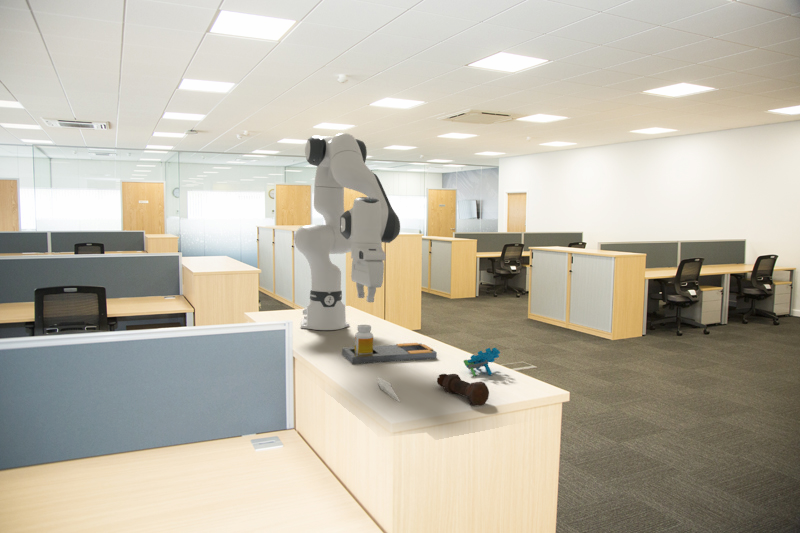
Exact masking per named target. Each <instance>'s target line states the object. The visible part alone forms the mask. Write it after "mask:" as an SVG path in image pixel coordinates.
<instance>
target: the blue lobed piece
mask: <svg viewBox="0 0 800 533" xmlns="http://www.w3.org/2000/svg"><path fill="white" fill-rule="evenodd" d="M499 354H501V352H500V349H498V348H497V347H493V348H492V349H491V348H490V347H488V348H485V352H484V351H483V350H480V351H477V354H472V355H471V356H470V359H464V360H463V364H464V366H465V367H466V368H467V369H468V370H470V371H471V374H472V376H473V377H476V376H477V374H476V372H475V370H479V369H480V368H481V367H484V368H485V370H486V373H487V374H488V376H491V375H493V373H492V370H491V368H490V367H489V363H494V362H495V359H498V358H499V357H500V355H499ZM474 369H475V370H474Z"/></svg>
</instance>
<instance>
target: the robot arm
mask: <svg viewBox="0 0 800 533" xmlns="http://www.w3.org/2000/svg"><path fill="white" fill-rule="evenodd" d="M304 155H305V158H306V161H307V162H308V164H310V165H312V166H314V167H315V166H316V170H315V171H316V172H315V175H314V176H315V177H314V189H313V191H314V192H313V207H314V209H315V211H316V212H317V213H319V214H320V215H322V216H323V219H324V221H325V224H306V225H303V226H300V227H298V228H297V230H296V232H295V233H294V240H293V241H294V244H295V247H296V248H297V250H298V251H299V252H300V253H301V254H302V255H303V256H304V257H305V258H306V260H307V262H308V264H309V267H310V275H311V276H310V277H311V289H310V292H309V302H308V303H307V306H306V307H304V308H303V309H302V315H303V316H304V318H301V320H300V321H301V322H300V328H301V329H309V330H316V331H335V330H342V329H343V328H348V327H350V323H349V322H347V319H346V316H347V315H346V305H345V304H344V302H342V298H343V294H342V293H343V292H342V291H343V290H342V286H341V285H342V283H341V282H342V271H341V270H340V268H339V266H337V265H336V264H334V263H333V262H332V261H331V257H330V255H335V254H336V255H338V254H339V255H343V254H347V253H348V254H349V253H350V254H351V256H350V257H351V258H350V259H352V262H351V272H350V273H351V275H350V277H351V281H352V282H354V283H356V284H355V285H356V292H357V298H359V299H364V298H365V293H366V292H365V287H367V295H366V302H368V303H374V302H375V294H376V291H377V289H378V288H381V287H382V285H383V282H384V270H385V263H384V262H385V261H386V256H387V255H386V252H385V251H384V250H383V247H382V246H383V245H382V244H383V243H386V244H390V243H391V242H393V241H394V240H396V239H397V237H398V236H399V235H400V233H401V222H400V219H399V216H398V215H397V213H396V212H395V210H394V209H393V207H392V205H391V203H390V200H389V198H388V196H387V194H386V192H385V189H384V187H383V184H382V183H381V181H380V179H379V177H378V175H377V174H376V173H375V172H373V171H372V170H370V168H369V167H368V166H367V164H366V160H367V157H368V151H367V146H366V143H365V142H364V141H363V140H360V139H358V138H357V139H356V138H355V137H354V136H353V135H352V134H350V133H347V132H340V133H337V134H336V135H334V136H332V135H331V136H329V135H327V136H326V135H325V136H321V135H312V136H310V137H309V138H308V139H307V142H306V143H305V147H304ZM345 188H346V189H349V190H352V191H356V192H359V193H361V194H363V195H365V196H366V197H365V196H360V197H356V198H354V201H353V206H352V207H351V208H350V209H348V210H346V211H345V203H344V202H345V199H344V198H345Z"/></svg>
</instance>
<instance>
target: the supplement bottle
mask: <svg viewBox="0 0 800 533" xmlns="http://www.w3.org/2000/svg"><path fill="white" fill-rule="evenodd" d="M356 330H357V331H358V332H355V334H354V347H355V355H363V354H373V346H374V334H373V333H372V332H371V330H372V325H370V324H359V325H357V329H356Z"/></svg>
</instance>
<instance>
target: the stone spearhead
mask: <svg viewBox="0 0 800 533" xmlns="http://www.w3.org/2000/svg"><path fill="white" fill-rule="evenodd" d="M377 381H378V383H377V384H378V386H379V388H380V390H381V391H383V392H385V393H386V394H387V395H388V394H389V395H388V396H390V397H391V398H393V399H394V398H395V399H394V400H396V401H397V402H399V403H401V401H400V399H399V397H398V395H397V394H396V393H395V390H394V389H393V388H392V383H391V382H388V381H386V380H384V379H383V378H381V377H377Z"/></svg>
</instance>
